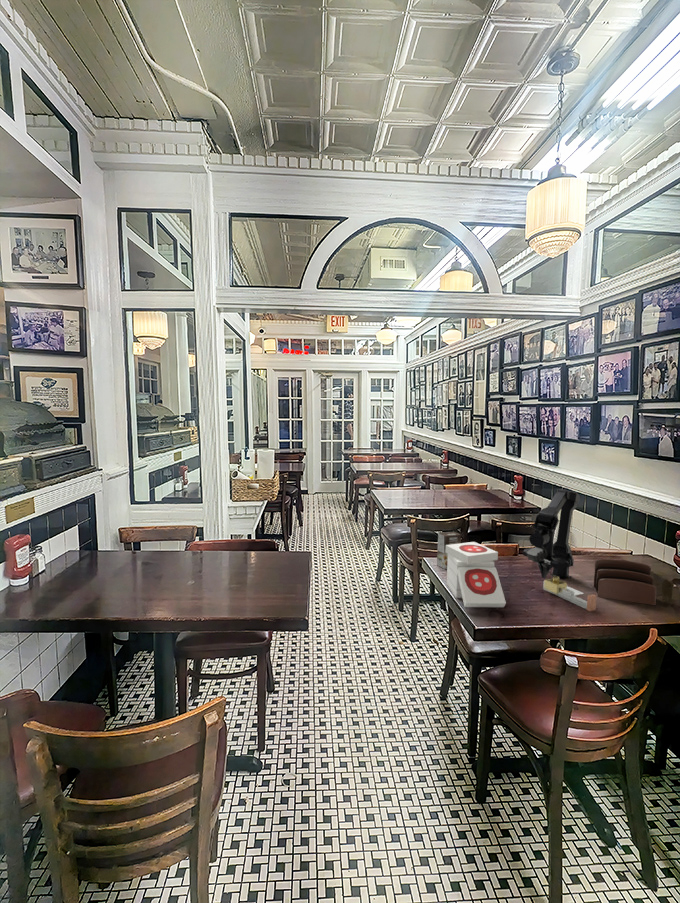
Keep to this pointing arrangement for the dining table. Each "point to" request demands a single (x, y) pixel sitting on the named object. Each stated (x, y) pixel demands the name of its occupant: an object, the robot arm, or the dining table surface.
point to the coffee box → (444, 540)
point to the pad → (575, 591)
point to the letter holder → (624, 581)
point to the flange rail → (576, 598)
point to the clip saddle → (554, 584)
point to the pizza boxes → (474, 575)
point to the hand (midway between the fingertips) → (543, 577)
